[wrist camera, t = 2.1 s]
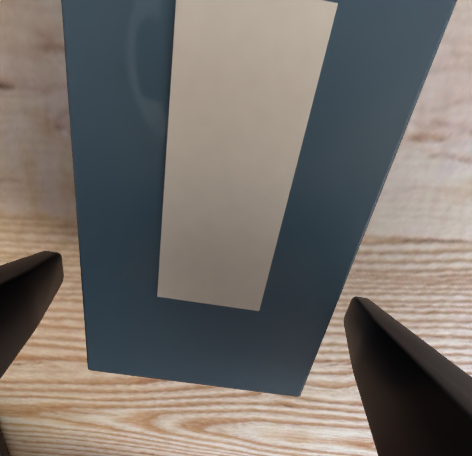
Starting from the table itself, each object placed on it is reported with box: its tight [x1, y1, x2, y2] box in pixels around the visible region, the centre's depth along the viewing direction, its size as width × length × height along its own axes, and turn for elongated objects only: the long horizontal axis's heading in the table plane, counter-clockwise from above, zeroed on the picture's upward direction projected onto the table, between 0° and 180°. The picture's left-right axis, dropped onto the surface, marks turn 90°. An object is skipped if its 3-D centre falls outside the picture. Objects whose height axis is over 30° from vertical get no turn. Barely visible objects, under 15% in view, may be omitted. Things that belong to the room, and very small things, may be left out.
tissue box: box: [61, 0, 457, 397], centre depth 8 cm, size 12×6×5 cm, turn 171°
